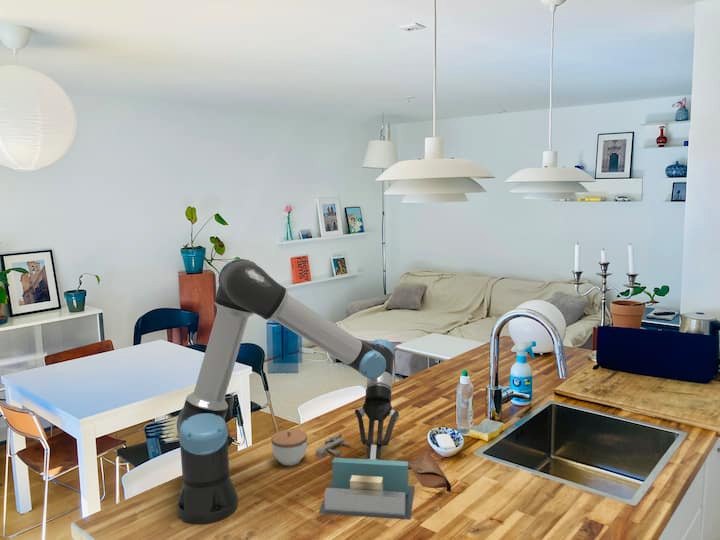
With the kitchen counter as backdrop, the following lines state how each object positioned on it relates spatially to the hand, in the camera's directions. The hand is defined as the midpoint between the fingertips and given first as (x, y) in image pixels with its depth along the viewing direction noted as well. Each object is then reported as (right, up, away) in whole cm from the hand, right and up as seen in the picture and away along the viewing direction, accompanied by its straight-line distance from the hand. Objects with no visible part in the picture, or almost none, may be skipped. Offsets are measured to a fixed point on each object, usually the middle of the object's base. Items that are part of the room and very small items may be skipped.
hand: (372, 469), depth 157 cm
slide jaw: (-1, -5, -2) cm, 5 cm away
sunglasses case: (+16, -5, +7) cm, 17 cm away
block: (-2, -6, -9) cm, 11 cm away
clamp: (-11, -3, +26) cm, 29 cm away
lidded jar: (-24, -4, +18) cm, 31 cm away
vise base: (-1, -7, -6) cm, 9 cm away
